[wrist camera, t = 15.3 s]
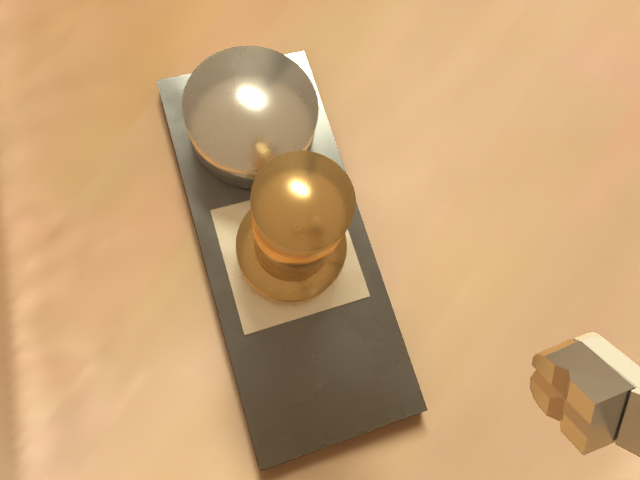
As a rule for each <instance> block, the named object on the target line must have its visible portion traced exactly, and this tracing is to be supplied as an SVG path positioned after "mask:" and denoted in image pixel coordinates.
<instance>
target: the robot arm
mask: <svg viewBox="0 0 640 480" xmlns="http://www.w3.org/2000/svg"><path fill="white" fill-rule="evenodd" d="M532 366H533V367H534V368H535V369H536V371H535V372H534V374H533V375H532V376H531V378H530V389H531V392H532V395H533V398H534V400H535V401H536V403H537V404H538V406H539V407H540V408H541V410H542V411H543V412H544V413H545V414H546V415H547V416H549V417H551V418H554V419H556V420H558V421H560V428H561V432H562V433H563V434H564V435H565V436H566V437H567V438H568V440H569V441H570V442H571V443H572V444H573V445H574V446H575V447H576V448H577V449H578V450H579V452H580V453H581V454H582V455H585V454H588V453H590V452H592V451H595V450H597V449H600V448H602V447H604V446H607V445H609V444H611V443H614V442H616V443H615V444H616V445H618V446H620V447H622V448H624V449H626V450H628V451H629V452H631V453H633V454H635V455H637V456H639V457H640V367H639V366H638V365H637V364H636V363H634V362H633V361H632V360H631V359H629V358H628V357H627V356H626V355H624V354H623V353H622V352H621V351H619V350H618V349H617V348H615V347H614V346H613V345H612V344H610V343H609V342H608V341H607V340H605V339H604V338H603V337H602V336H600V335H599V334H597V333H594V332H589V333H585V334H583V335H581V336H578V337H576V338H574V339H570V340H567V341H565V342H563V343H560V344H558V345H556V346H553V347H551V348H549V349H546V350H544V351H542V352H539V353H537V354H536V355H535V356H534V357H533V361H532Z"/></svg>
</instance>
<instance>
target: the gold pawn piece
mask: <svg viewBox="0 0 640 480" xmlns="http://www.w3.org/2000/svg"><path fill="white" fill-rule="evenodd" d="M250 204H251V209H250V210H249V211H248V212H247V213H246V215H245V216H244V218H243V220H242V222H241V223H240V226H239V229H238V232H237V237H236V254H237V259H238V263H239V267H240V270H241V272H242V275H243V277H244V279H245V280H246V282H247V283H248V284H249V286H250V287H251V288H252V289H253V290H254V291H255V292H256V293H258V294H259V295H260V296H262V297H264V298H265V299H268V300H270V301H272V302H276V303H280V304H300V303H304V302H307V301H310V300H312V299H314V298H316V297H318V296H319V295H320V294H322V293H323V292H324V291H325V290H326V289H327V288H328V287H329V286H330V285H331V284H332V283H333V282H334V281H335V279H336V278H337V277H338V275H339V274H340V272H341V270H342V268H343V265H344V262H345V259H346V253H347V241H346V235H345V232H346V231H347V229H348V228H349V226H350V224H351V222H352V220H353V217H354V214H355V208H356V198H355V192H354V188H353V185H352V183H351V180H350V179H349V177H348V175H347V174H346V173H345V171H344V170H343V169H342V168H341V167H340V166H339V165H338V164H337V163H336V162H334V161H333V160H331V159H330V158H328V157H326V156H324V155H322V154H319V153H316V152H311V151H292V152H287V153H284V154H281V155H279V156H277V157H275V158H273V159H272V160H270V161H269V162H268V163H267V164H265V165H264V167H263V168H262V169H261V170H260V171H259V173H258V174H257V176H256V178H255V180H254V182H253V185H252V189H251V194H250Z"/></svg>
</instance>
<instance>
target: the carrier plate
mask: <svg viewBox="0 0 640 480" xmlns="http://www.w3.org/2000/svg"><path fill="white" fill-rule="evenodd" d="M156 81H157V85H158V88H159V92H160V96H161V100H162V103H163V107H164V111H165V115H166V118H167V122H168V126H169V130H170V134H171V137H172V141H173V145H174V149H175V152H176V156H177V160H178V164H179V167H180V171H181V175H182V179H183V183H184V186H185V190H186V194H187V198H188V201H189V205H190V209H191V213H192V216H193V220H194V224H195V228H196V231H197V235H198V239H199V243H200V247H201V250H202V254H203V258H204V262H205V265H206V269H207V273H208V277H209V280H210V284H211V288H212V292H213V296H214V299H215V303H216V307H217V311H218V314H219V318H220V322H221V326H222V329H223V333H224V337H225V341H226V345H227V348H228V352H229V356H230V360H231V363H232V367H233V371H234V375H235V378H236V382H237V386H238V390H239V393H240V397H241V401H242V405H243V409H244V412H245V416H246V420H247V424H248V427H249V431H250V435H251V439H252V442H253V446H254V450H255V454H256V458H257V461H258V465H259V469H260V471H263V470H265V469H268V468H271V467H273V466H276V465H279V464H282V463H284V462H287V461H290V460H293V459H295V458H298V457H301V456H304V455H306V454H309V453H312V452H314V451H317V450H320V449H323V448H325V447H328V446H331V445H334V444H336V443H339V442H342V441H344V440H347V439H350V438H353V437H355V436H358V435H361V434H364V433H366V432H369V431H372V430H374V429H377V428H380V427H383V426H385V425H388V424H391V423H394V422H396V421H399V420H402V419H405V418H407V417H410V416H413V415H415V414H418V413H421V412H424V411H426V410H427V407H426V404H425V401H424V399H423V396H422V393H421V390H420V387H419V384H418V381H417V378H416V375H415V372H414V369H413V366H412V364H411V361H410V358H409V355H408V352H407V349H406V346H405V343H404V340H403V337H402V334H401V332H400V329H399V326H398V323H397V320H396V317H395V314H394V311H393V308H392V305H391V302H390V299H389V297H388V294H387V291H386V288H385V285H384V282H383V279H382V276H381V273H380V270H379V267H378V265H377V262H376V259H375V256H374V253H373V250H372V247H371V244H370V241H369V238H368V235H367V232H366V230H365V227H364V224H363V221H362V218H361V215H360V212H359V209H358V206H357V203H356V208H355V214H354V217H353V220H352V222H351V224H350V226H349V228H348V229H347V231H346V232H345V235H346V241H347V253H346V259H345V262H344V265H343V268H342V270H341V272H340V274H339V275H338V277H337V278H336V279H335V281H334V282H333V283H332V284H331V285H330V286H329V287H328V288H327V289H326V290H325V291H324V292H323V293H322V294H320V295H319V296H318V297H316V298H314V299H312V300H310V301H307V302H304V303H300V304H280V303H276V302H272V301H270V300H268V299H265V298H264V297H262V296H260V295H259V294H258V293H256V292H255V291H254V290H253V289H252V288H251V287H250V286H249V284H248V283H247V282H246V280H245V279H244V277H243V275H242V272H241V270H240V267H239V263H238V259H237V254H236V237H237V232H238V229H239V226H240V223H241V222H242V220H243V218H244V216H245V215H246V213H247V212H248V211H249V210H250V209H251V204H250V194H251V189H252V185H253V182H254V180H255V178H256V176H257V174H258V173H259V171H260V170H261V169H262V168H263V167H264V165H265V164H267V163H268V162H269V161H270V160H272V159H273V158H275V157H277V156H279V155H281V154H284V153H287V152H292V151H311V152H316V153H319V154H322V155H324V156H326V157H328V158H330V159H331V160H333V161H334V162H336V163H337V164H338V165H339V166H340V167H341V168H342V169H343V170H344V171H345V168H344V166H343V163H342V160H341V157H340V154H339V151H338V148H337V145H336V142H335V139H334V136H333V133H332V131H331V128H330V125H329V122H328V119H327V116H326V113H325V110H324V107H323V104H322V101H321V99H320V96H319V93H318V90H317V87H316V84H315V81H314V78H313V75H312V72H311V69H310V66H309V64H308V61H307V58H306V55H305V52H304V51H301V52H296V53H291V54H286V55H283V54H281V53H279V52H277V51H274V50H271V49H268V48H263V47H257V46H240V47H233V48H229V49H225V50H223V51H220V52H217V53H216V54H214V55H212V56H210V57H209V58H207V59H206V60H204V61H203V62H202V63H201V64H200V65H199V66H198V67H197V68H196V69H195V70H194V71H193V73H191V74H186V75H181V76H176V77H171V78H166V79H161V80H156ZM345 173H346V171H345Z"/></svg>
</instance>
